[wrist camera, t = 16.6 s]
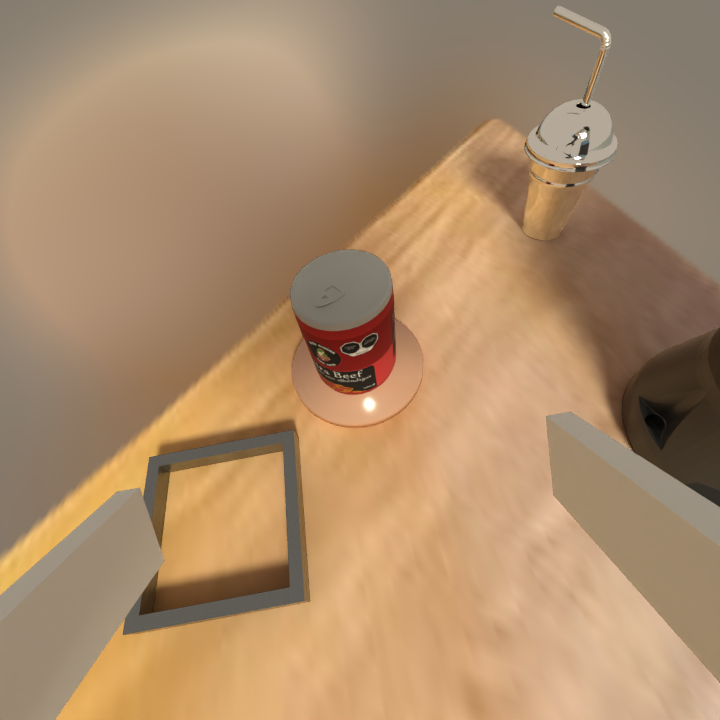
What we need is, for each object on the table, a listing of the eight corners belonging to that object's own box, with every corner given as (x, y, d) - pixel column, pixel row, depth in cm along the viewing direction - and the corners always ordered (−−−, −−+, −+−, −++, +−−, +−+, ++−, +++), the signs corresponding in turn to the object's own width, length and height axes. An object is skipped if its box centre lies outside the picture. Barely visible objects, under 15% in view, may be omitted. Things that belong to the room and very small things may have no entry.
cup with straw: (524, 259, 45) (591, 49, 28) (491, 212, 50) (533, 10, 33) (594, 241, 45) (703, 23, 28) (555, 196, 50) (628, -12, 33)
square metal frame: (160, 463, 36) (149, 457, 34) (298, 437, 36) (293, 429, 34) (137, 633, 29) (122, 635, 27) (310, 601, 29) (304, 601, 27)
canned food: (302, 378, 38) (268, 304, 29) (345, 320, 41) (327, 237, 32) (370, 411, 35) (356, 341, 26) (410, 346, 39) (410, 264, 29)
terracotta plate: (359, 298, 44) (358, 292, 43) (450, 363, 38) (451, 358, 37) (269, 370, 40) (266, 365, 39) (355, 456, 34) (354, 452, 33)
